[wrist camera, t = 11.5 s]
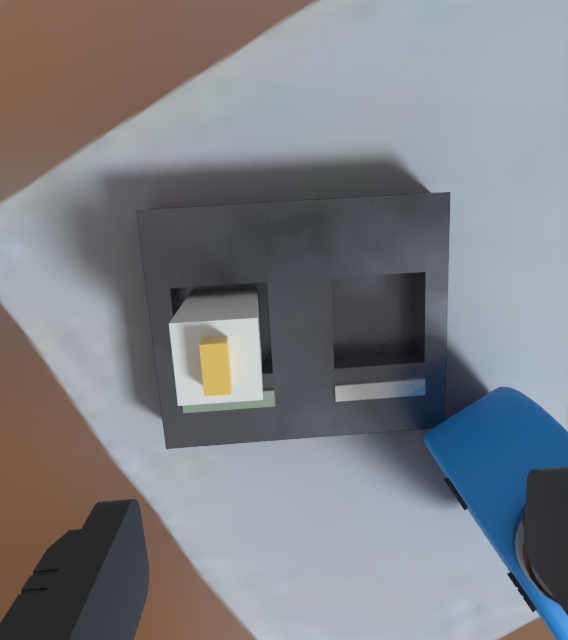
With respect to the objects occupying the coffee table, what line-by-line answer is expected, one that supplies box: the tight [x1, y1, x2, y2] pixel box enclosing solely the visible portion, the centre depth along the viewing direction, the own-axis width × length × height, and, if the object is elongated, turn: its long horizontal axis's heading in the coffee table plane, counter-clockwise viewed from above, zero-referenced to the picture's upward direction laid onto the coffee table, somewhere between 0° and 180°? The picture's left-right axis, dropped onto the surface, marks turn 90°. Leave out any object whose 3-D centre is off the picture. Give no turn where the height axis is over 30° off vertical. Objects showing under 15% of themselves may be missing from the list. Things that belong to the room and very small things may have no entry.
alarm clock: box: [423, 387, 568, 640], centre depth 27 cm, size 13×6×15 cm, turn 34°
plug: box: [169, 287, 263, 406], centre depth 26 cm, size 4×4×9 cm
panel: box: [136, 192, 450, 449], centre depth 30 cm, size 17×14×3 cm
